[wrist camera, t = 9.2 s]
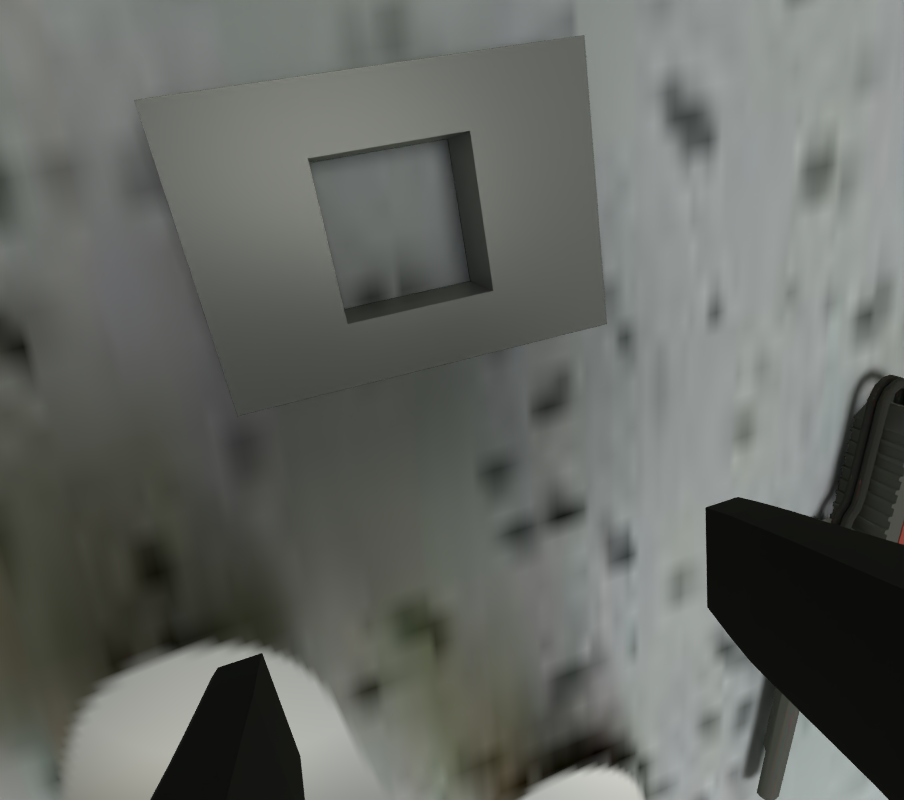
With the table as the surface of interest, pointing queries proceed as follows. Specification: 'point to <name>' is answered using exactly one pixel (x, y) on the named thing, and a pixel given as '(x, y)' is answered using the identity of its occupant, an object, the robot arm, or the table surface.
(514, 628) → the table surface
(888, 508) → the red belt-clip case
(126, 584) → the table surface
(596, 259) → the fuse block
